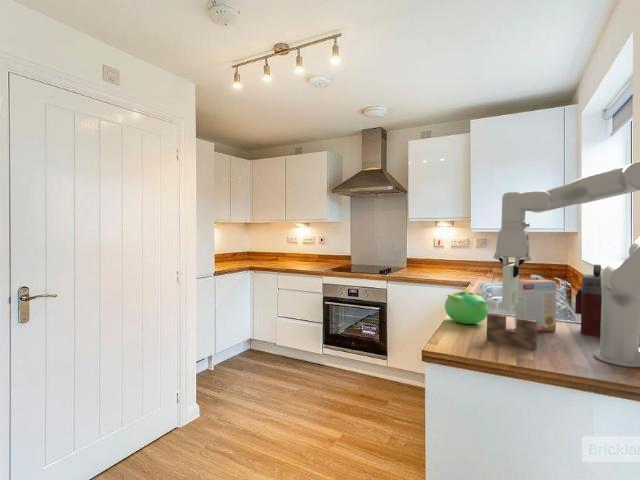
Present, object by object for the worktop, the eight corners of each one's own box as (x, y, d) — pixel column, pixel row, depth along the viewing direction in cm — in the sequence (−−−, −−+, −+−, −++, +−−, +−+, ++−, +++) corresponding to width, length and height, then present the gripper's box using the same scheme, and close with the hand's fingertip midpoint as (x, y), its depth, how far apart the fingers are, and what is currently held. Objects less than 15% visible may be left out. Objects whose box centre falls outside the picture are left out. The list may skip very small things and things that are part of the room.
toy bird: (487, 320, 158) (488, 288, 158) (488, 331, 143) (489, 295, 142) (446, 316, 166) (446, 286, 165) (443, 325, 150) (443, 292, 150)
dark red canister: (575, 328, 147) (577, 262, 145) (609, 333, 139) (612, 264, 138) (573, 333, 140) (575, 264, 138) (609, 339, 132) (611, 266, 131)
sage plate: (517, 302, 131) (519, 263, 131) (508, 309, 121) (509, 267, 120) (512, 301, 133) (513, 263, 132) (501, 308, 123) (503, 266, 122)
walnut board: (536, 348, 123) (537, 320, 123) (535, 350, 121) (535, 322, 121) (488, 338, 134) (489, 312, 133) (486, 340, 132) (487, 314, 131)
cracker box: (546, 327, 147) (547, 279, 147) (556, 331, 141) (557, 281, 140) (514, 328, 147) (515, 279, 146) (522, 332, 141) (524, 281, 140)
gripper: (540, 226, 123) (538, 277, 124) (492, 226, 134) (491, 273, 135) (536, 226, 117) (533, 280, 118) (486, 226, 128) (485, 275, 129)
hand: (511, 276), depth 126 cm, fingers closed on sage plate, 2 cm apart
